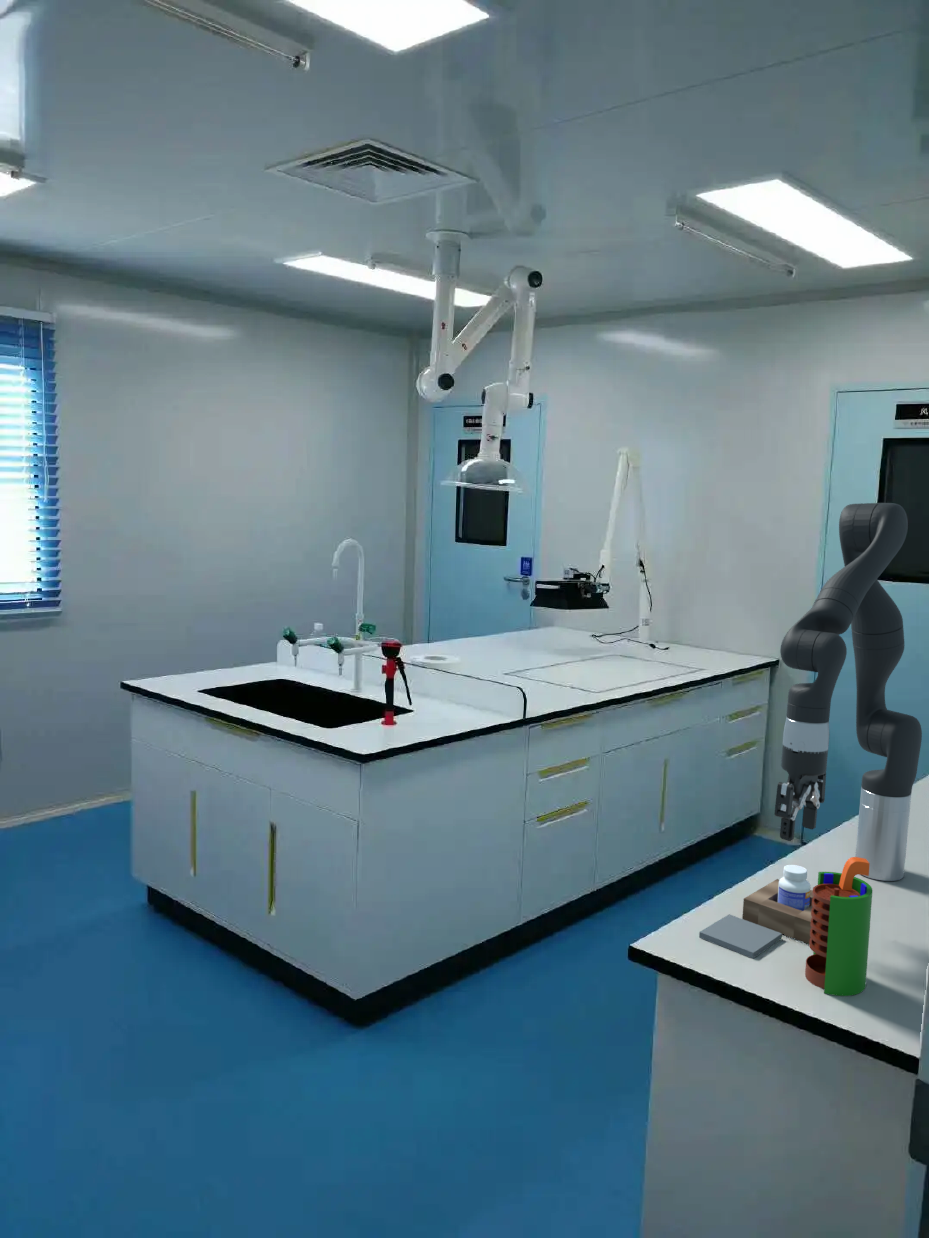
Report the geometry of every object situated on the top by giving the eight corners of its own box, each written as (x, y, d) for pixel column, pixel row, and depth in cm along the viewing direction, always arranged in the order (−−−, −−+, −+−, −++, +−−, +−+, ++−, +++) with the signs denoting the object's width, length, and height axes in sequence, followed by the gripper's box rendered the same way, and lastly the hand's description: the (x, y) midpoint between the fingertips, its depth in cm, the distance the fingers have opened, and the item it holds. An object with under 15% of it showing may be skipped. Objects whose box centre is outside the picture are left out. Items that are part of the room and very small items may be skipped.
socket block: (775, 899, 181) (777, 878, 180) (841, 921, 172) (843, 900, 171) (742, 919, 172) (743, 898, 171) (810, 944, 163) (811, 922, 163)
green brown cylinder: (793, 963, 157) (802, 845, 154) (846, 962, 157) (856, 845, 154) (821, 996, 147) (832, 871, 144) (877, 995, 147) (889, 870, 144)
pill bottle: (810, 929, 169) (814, 876, 167) (777, 925, 170) (781, 873, 168) (805, 915, 174) (809, 864, 173) (774, 912, 175) (778, 861, 174)
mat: (728, 919, 172) (729, 914, 172) (781, 938, 165) (781, 933, 165) (699, 937, 165) (699, 931, 165) (752, 958, 158) (753, 952, 158)
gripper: (803, 733, 175) (796, 819, 177) (765, 746, 165) (758, 837, 167) (844, 742, 170) (836, 830, 172) (807, 756, 160) (799, 849, 162)
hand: (797, 833), depth 170 cm, fingers open, 8 cm apart
